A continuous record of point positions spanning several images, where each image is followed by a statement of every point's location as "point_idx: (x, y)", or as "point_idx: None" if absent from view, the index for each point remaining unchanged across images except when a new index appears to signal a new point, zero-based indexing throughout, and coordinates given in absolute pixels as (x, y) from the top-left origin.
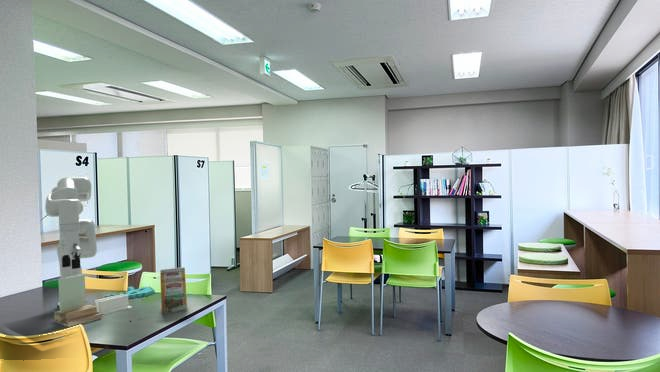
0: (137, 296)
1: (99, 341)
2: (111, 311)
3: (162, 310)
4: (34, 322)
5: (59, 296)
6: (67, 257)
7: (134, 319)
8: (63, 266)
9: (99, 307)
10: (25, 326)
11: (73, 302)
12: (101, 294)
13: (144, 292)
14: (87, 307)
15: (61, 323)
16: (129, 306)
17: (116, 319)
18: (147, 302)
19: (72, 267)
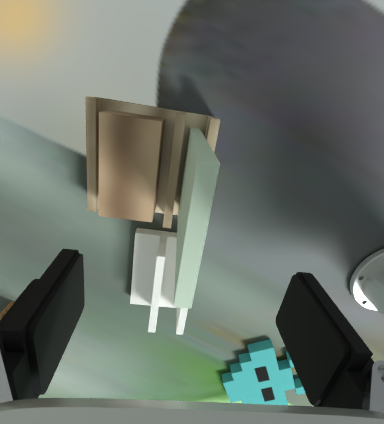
0: (239, 364)
1: None
2: (141, 257)
3: (4, 309)
4: (325, 105)
5: (203, 141)
6: (332, 398)
7: (30, 248)
8: (297, 279)
9: (162, 245)
10: (313, 60)
11: (183, 185)
12: (372, 348)
13: (232, 382)
14: (117, 195)
15: (166, 113)
16: (141, 302)
17: (80, 230)
18: (163, 345)
19: (58, 255)
